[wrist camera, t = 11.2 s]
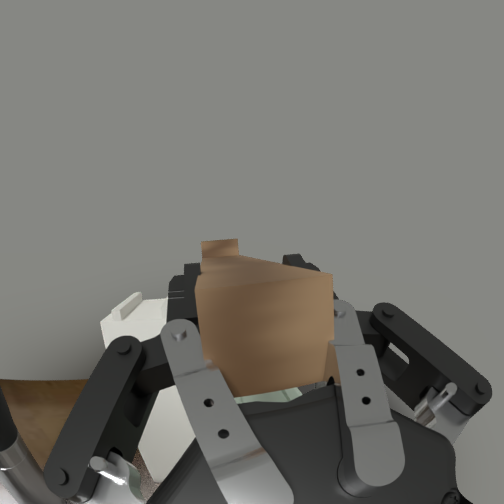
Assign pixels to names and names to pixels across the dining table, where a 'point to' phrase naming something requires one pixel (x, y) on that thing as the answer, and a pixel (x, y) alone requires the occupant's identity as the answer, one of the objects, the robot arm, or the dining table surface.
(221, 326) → the hook bar
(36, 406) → the dining table surface
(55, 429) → the dining table surface
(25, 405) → the dining table surface
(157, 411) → the shelf stand
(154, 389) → the robot arm
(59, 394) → the dining table surface
